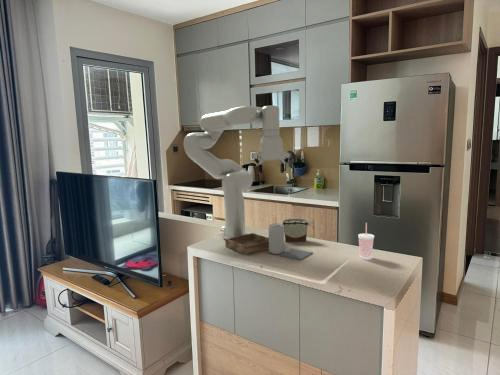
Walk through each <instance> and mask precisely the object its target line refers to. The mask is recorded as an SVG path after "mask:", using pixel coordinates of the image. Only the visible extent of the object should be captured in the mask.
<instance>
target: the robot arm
mask: <svg viewBox="0 0 500 375" xmlns="http://www.w3.org/2000/svg"><path fill="white" fill-rule="evenodd" d="M244 124H258V125H260V124H261V126H262V127H261V128H262V131H259V133H258V135H259V136H261V137H260V143H259V150H258V151H256V152H254V153H253V154H251V157H252V159H253V161H254V162H255V163H256V164H257V165H258V166H257V171H258V172H259V174H260V175H262V174H263V164H262V163H263V162H264V161H279V163H280V164H279V167H280V168H279V169H280V173H282V174H284V172H285V168H286V167H285V165H286V163H287V162H288V161H289V159H290V157H291V153H289V152H287V151H286V150H284V145H283V143H284V142H283V139H282V137H281V136H280V108H279V106H277V105H264V106H262V107H260V106H255V105H243V106H238V107H233V108H230V109H227V110H224V111H217V112H212V113H207V114H204V115H203V116H201V117H200V120H199V126H200V128H201V129H202V130H203V131H204V132H198V131H197V132H191V133H188V134H187V135H186V136H184V139H183V148H184V152H185V154H186V156H187V157H188V158H189V159H191V161H192V162H194V163H195V164H196V165H198V166H199V167H200V168H201V169H202V170H204V171H205V172H206V173H207V174H209V175H210V176H211V177H212V178H213V179H216V180H221V187H222V192H223V200H224V223H225V224H224V225H225V226H221V228H220V229H219V231H220V232H223V234H222V236H221V237H222V239H224V240H225V239H228V238H233V237H237V236H242V235H246V234H248V232H246V219H245V218H246V216H245V212H246V210H245V209H246V208H245V198H244V195H243V191H246V190H248V189H249V188H251V186H253V177H252V175H251V174H250V173H249V172H248V171H247V170H246V169H245V168H244V167H242V166H241V165H240V164H239V163H237V162H236V161H234V160H232V159H228V158H224V159H223V158H221V159H220V158H218V157H217V156H215V155H213V153H212V152H210V151H208V149H211V148H212V147H213V146H214V145H215V144H217V141H218V140H219V138H220V137H221V135H222V134H223V132H224V131H225V130H230V129H232V128H234V126H236V125H237V126H238V125H244ZM258 156H259V159H258V158H257V157H258ZM284 156H285V158H284Z"/></svg>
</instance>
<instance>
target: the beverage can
mask: <svg viewBox="0 0 500 375" xmlns="http://www.w3.org/2000/svg"><path fill="white" fill-rule="evenodd" d="M268 238H269V249H268V252H269V253H270V254H272V255H280V254H282V253H284V252H285V234H284V226H283V224H282V223H274V222H273V223H270V224H269V226H268Z"/></svg>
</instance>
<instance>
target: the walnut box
mask: <svg viewBox="0 0 500 375" xmlns="http://www.w3.org/2000/svg"><path fill="white" fill-rule="evenodd" d="M224 240H225V241H224V242H225V243H224V244H225V247H226V248H227V249H230V250H233V251H235V252H238V253H241V254H243V255H245V256H248V255H252V254H256V253H259V252H263V251H266V250H269V237H267V236H264V235H261V234H257V233H254V232H252V233H247V234H246V235H242V236H237V237H233V238H228V239H224ZM253 241H254V242H256V243H254V244H250V245H245V244H243V243H248V242H253Z"/></svg>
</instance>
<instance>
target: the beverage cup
mask: <svg viewBox="0 0 500 375" xmlns="http://www.w3.org/2000/svg"><path fill="white" fill-rule="evenodd" d="M357 236H358V250H359V254H358V255H359V259H362V260H371V259H373V249H374V248H373V247H374V239H375V235H374V234H372V233H368V222H365V233H359V234H357Z"/></svg>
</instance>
